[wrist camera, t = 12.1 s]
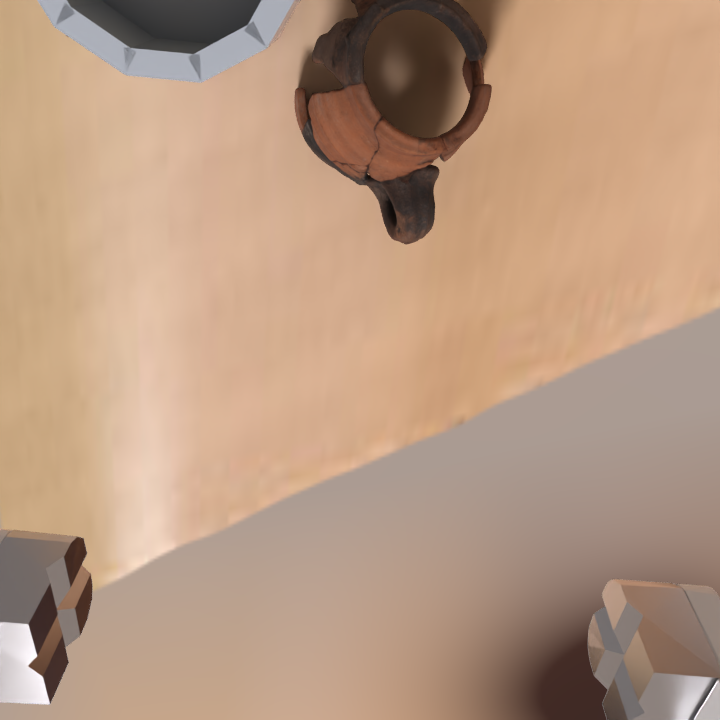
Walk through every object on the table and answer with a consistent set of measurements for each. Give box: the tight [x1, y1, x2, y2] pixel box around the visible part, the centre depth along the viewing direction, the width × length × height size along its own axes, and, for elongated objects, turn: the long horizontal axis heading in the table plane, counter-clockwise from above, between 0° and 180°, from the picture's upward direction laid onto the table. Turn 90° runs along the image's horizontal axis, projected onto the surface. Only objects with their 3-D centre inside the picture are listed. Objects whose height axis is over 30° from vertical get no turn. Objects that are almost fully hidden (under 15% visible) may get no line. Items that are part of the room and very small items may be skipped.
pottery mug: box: [295, 0, 492, 244], centre depth 35 cm, size 12×10×8 cm
